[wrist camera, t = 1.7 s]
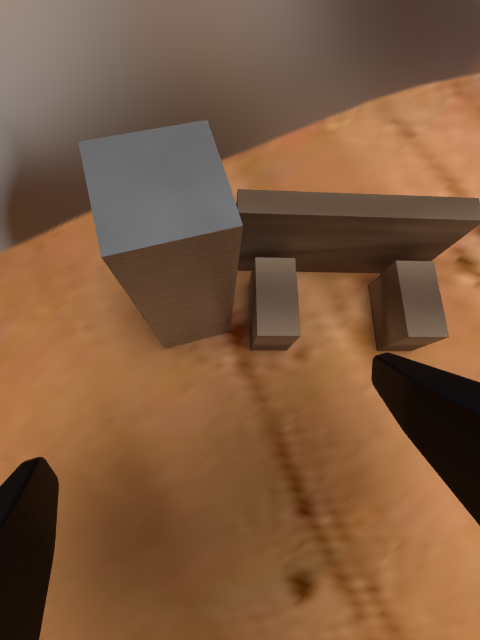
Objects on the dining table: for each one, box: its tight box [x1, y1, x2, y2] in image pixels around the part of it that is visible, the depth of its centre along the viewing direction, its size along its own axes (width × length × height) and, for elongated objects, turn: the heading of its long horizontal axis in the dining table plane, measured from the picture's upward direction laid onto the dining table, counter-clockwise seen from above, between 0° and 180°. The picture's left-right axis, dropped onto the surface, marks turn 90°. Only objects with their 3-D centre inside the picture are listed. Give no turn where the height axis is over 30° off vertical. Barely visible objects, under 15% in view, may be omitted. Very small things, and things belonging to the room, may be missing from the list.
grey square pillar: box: [79, 120, 243, 348], centre depth 17 cm, size 4×4×13 cm
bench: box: [236, 189, 480, 351], centre depth 21 cm, size 8×14×7 cm, turn 90°
